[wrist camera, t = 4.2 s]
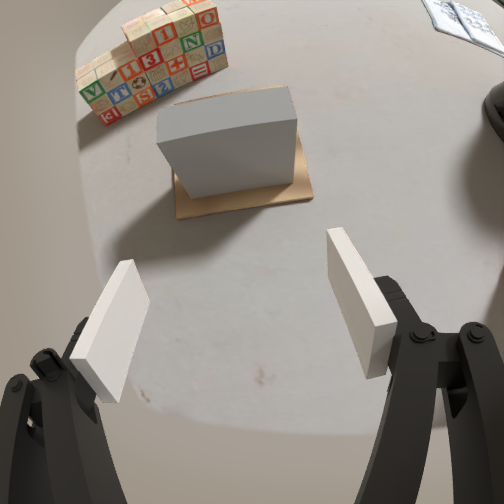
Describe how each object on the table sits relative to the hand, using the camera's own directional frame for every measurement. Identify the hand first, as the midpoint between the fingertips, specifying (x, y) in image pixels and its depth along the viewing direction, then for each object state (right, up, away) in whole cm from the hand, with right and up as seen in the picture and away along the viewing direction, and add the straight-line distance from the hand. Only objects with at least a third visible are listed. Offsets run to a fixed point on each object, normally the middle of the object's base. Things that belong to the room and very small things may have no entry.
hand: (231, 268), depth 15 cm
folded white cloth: (+50, +54, +30) cm, 80 cm away
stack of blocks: (-13, +27, +28) cm, 41 cm away
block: (0, +10, +22) cm, 24 cm away
